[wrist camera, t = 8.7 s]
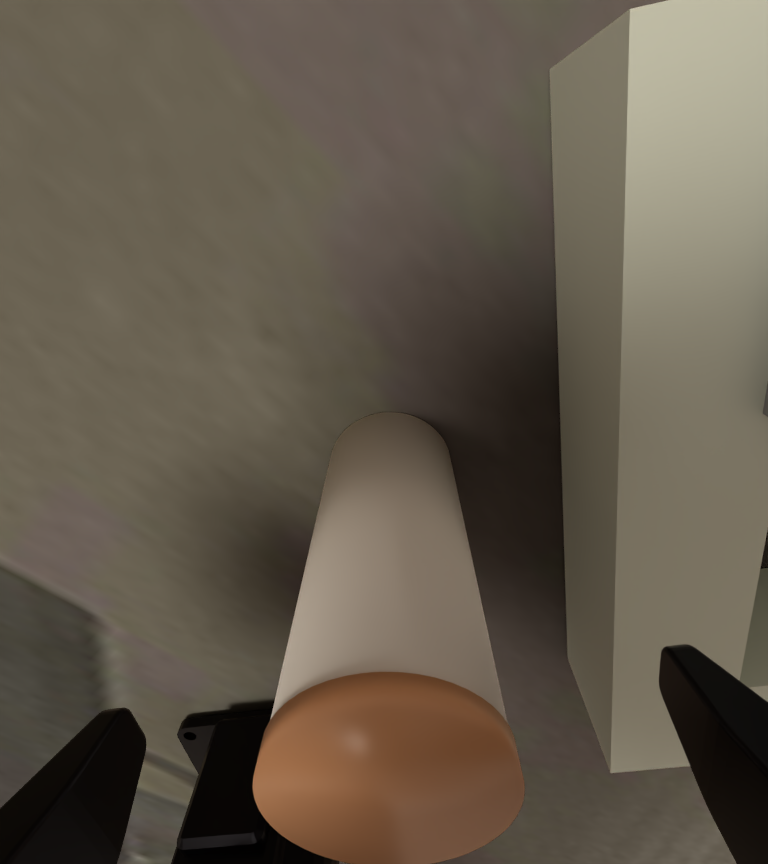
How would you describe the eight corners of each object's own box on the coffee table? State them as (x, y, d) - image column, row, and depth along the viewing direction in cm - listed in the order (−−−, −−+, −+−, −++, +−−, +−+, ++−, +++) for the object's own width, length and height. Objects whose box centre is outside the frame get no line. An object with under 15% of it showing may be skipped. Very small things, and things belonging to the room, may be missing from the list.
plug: (459, 509, 16) (532, 856, 7) (342, 526, 16) (292, 876, 8) (443, 400, 14) (515, 692, 6) (314, 421, 14) (215, 724, 6)
